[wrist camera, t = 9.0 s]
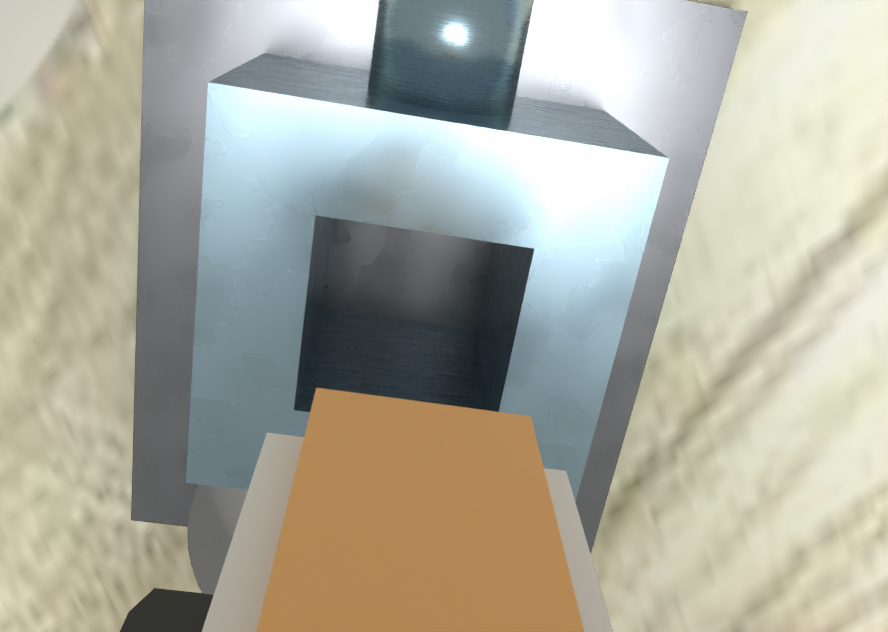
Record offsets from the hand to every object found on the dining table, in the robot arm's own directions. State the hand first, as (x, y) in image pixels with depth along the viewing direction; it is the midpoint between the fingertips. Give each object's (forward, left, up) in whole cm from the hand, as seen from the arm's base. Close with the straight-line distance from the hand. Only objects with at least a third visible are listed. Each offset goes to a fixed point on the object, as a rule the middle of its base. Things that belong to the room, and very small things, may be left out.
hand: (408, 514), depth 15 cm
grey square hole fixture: (-3, 0, -18) cm, 18 cm away
